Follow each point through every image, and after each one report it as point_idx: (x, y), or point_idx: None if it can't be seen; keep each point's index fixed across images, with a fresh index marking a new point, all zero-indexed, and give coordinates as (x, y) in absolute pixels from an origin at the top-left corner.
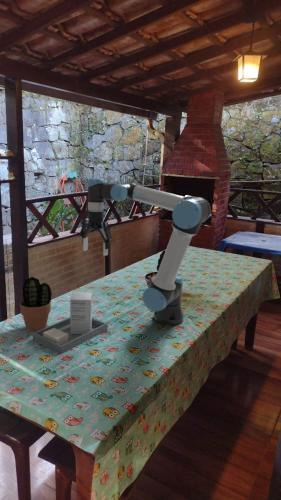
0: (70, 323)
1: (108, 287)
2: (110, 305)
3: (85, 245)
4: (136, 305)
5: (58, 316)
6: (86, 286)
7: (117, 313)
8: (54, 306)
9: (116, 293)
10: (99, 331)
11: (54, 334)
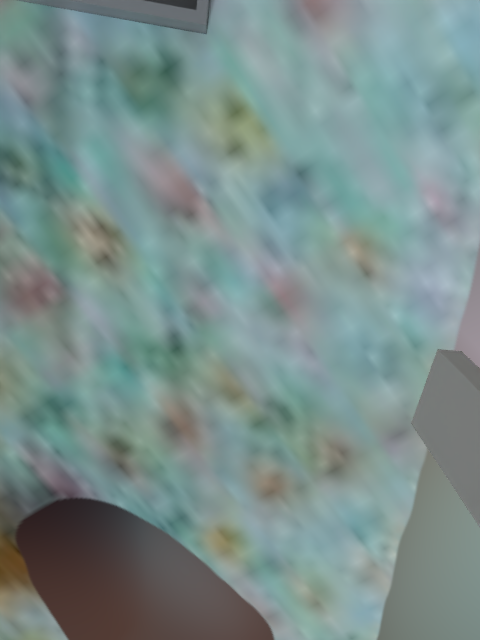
0: None
1: (327, 472)
2: (191, 308)
3: (476, 435)
4: (85, 376)
5: (350, 8)
6: None
7: (97, 244)
8: (448, 123)
9: (254, 438)
10: None
11: None
